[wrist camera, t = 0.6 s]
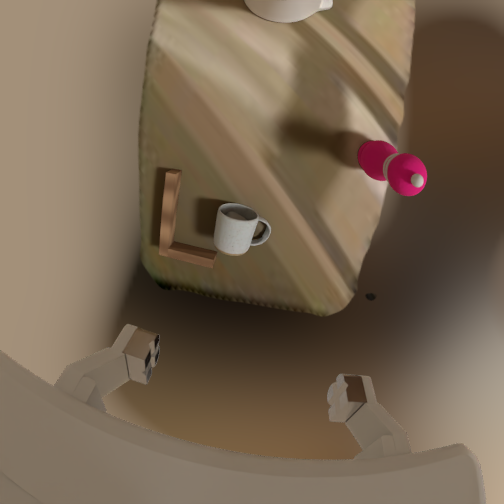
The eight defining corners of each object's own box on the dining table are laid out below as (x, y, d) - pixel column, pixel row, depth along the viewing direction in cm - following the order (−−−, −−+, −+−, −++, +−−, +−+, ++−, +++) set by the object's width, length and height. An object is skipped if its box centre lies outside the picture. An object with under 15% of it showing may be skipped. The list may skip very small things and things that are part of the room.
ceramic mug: (216, 236, 57) (208, 254, 51) (222, 199, 53) (214, 213, 47) (265, 247, 58) (264, 266, 51) (275, 211, 54) (275, 227, 47)
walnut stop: (172, 168, 51) (166, 172, 48) (230, 180, 51) (227, 184, 48) (164, 247, 60) (159, 254, 57) (215, 259, 60) (212, 268, 57)
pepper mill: (350, 168, 48) (388, 200, 30) (360, 133, 45) (405, 145, 27) (383, 179, 48) (431, 215, 30) (393, 145, 45) (448, 165, 27)
